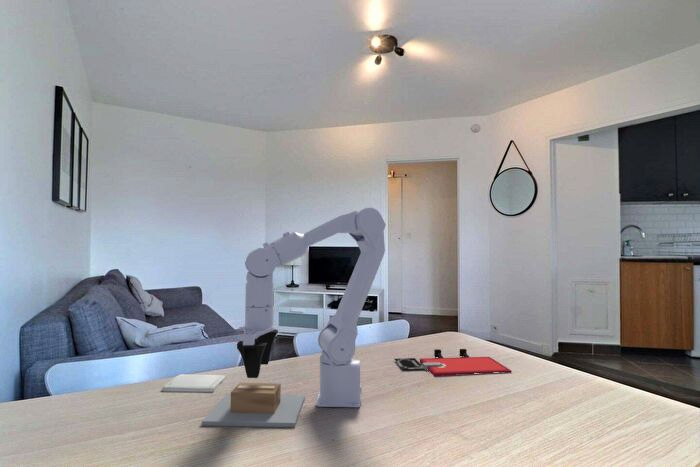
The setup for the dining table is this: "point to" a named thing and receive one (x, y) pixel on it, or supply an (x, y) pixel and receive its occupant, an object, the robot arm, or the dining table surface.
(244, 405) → the taped cardboard box
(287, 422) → the rubber mat
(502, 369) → the red board with handle
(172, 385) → the hard drive
